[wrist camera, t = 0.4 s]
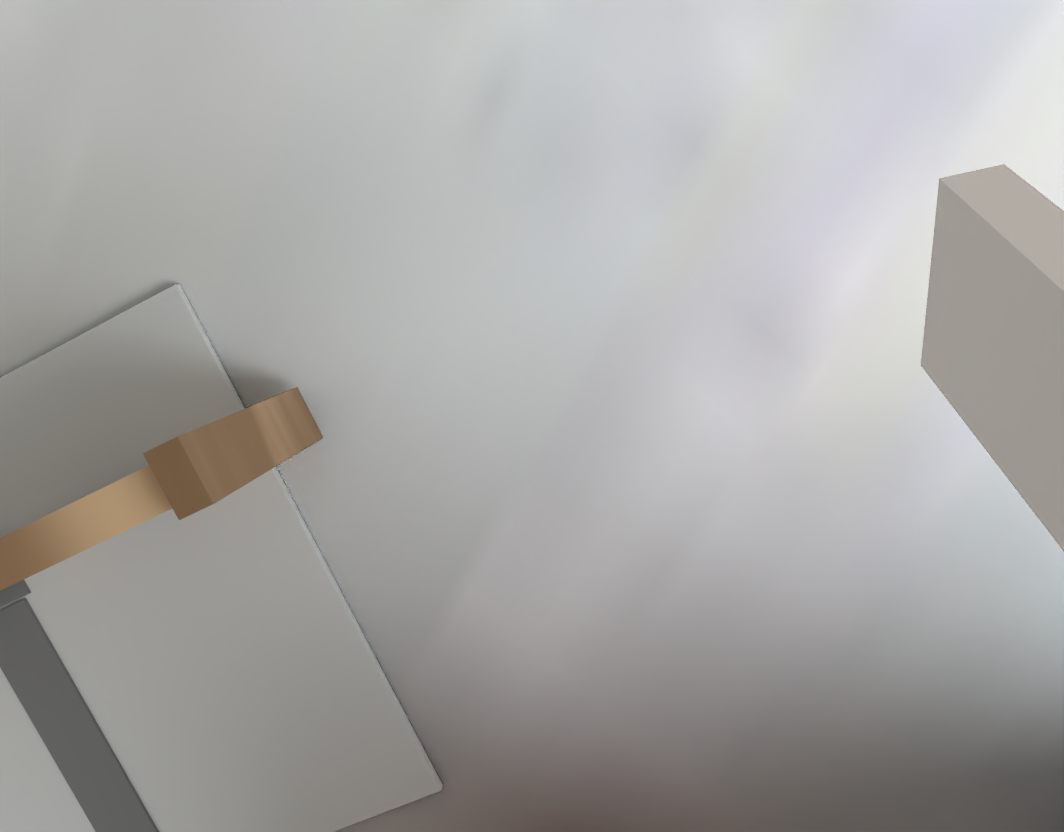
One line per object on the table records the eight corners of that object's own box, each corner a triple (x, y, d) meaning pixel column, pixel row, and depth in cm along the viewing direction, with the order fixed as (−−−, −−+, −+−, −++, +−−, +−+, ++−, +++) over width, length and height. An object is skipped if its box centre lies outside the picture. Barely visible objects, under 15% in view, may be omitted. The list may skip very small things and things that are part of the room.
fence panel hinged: (21, 581, 32) (-172, 685, 24) (-6, 535, 31) (-208, 626, 24) (323, 437, 29) (213, 503, 22) (297, 386, 29) (177, 436, 22)
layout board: (442, 786, 32) (440, 792, 31) (-71, 981, 36) (-79, 990, 36) (179, 284, 30) (172, 284, 29) (-334, 556, 34) (-346, 560, 33)
